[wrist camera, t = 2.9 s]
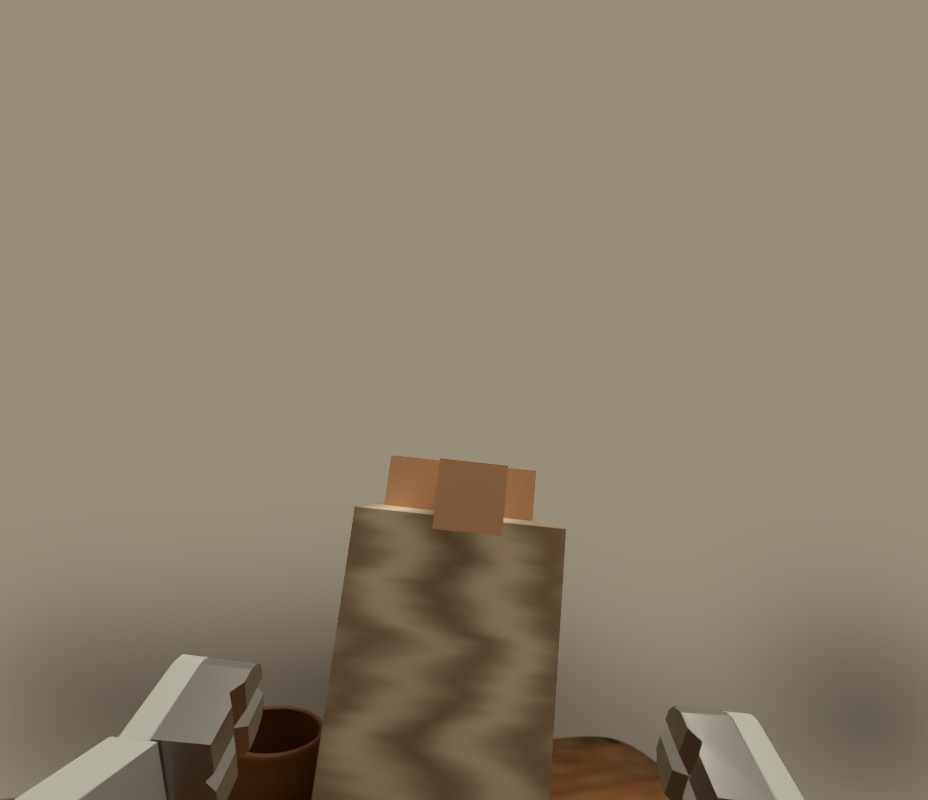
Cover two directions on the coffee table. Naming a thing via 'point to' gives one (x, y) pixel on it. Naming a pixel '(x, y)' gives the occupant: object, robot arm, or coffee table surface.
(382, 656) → the pedestal
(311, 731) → the mug
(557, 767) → the coffee table surface
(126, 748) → the robot arm
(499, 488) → the t bar
